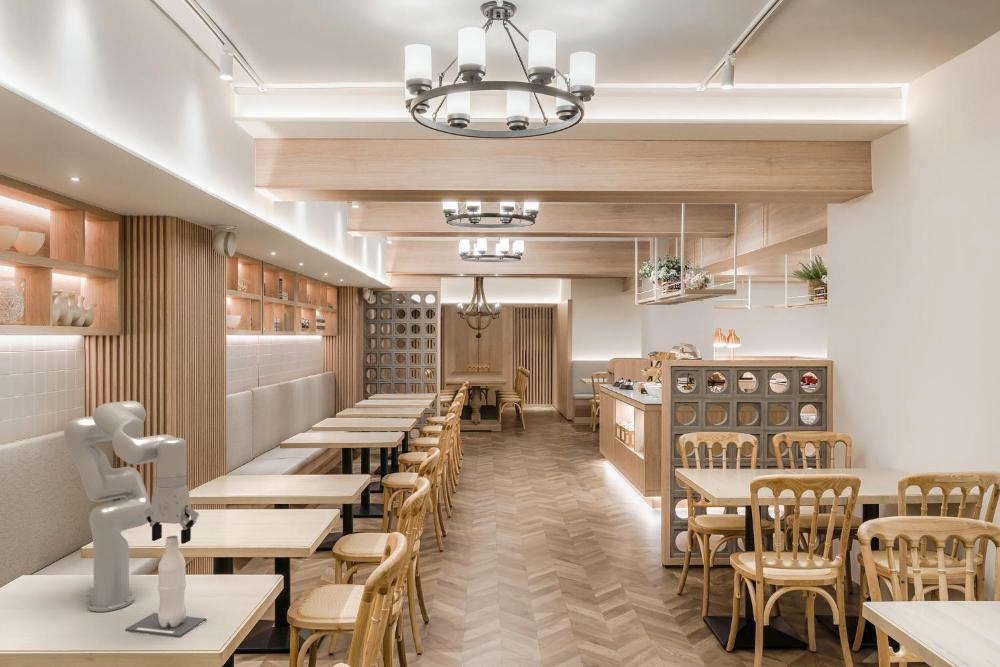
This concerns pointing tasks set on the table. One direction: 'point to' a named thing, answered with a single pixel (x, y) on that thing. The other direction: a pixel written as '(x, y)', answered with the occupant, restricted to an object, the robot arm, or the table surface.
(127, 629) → the board
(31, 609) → the table surface
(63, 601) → the table surface
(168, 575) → the water bottle
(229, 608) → the table surface
